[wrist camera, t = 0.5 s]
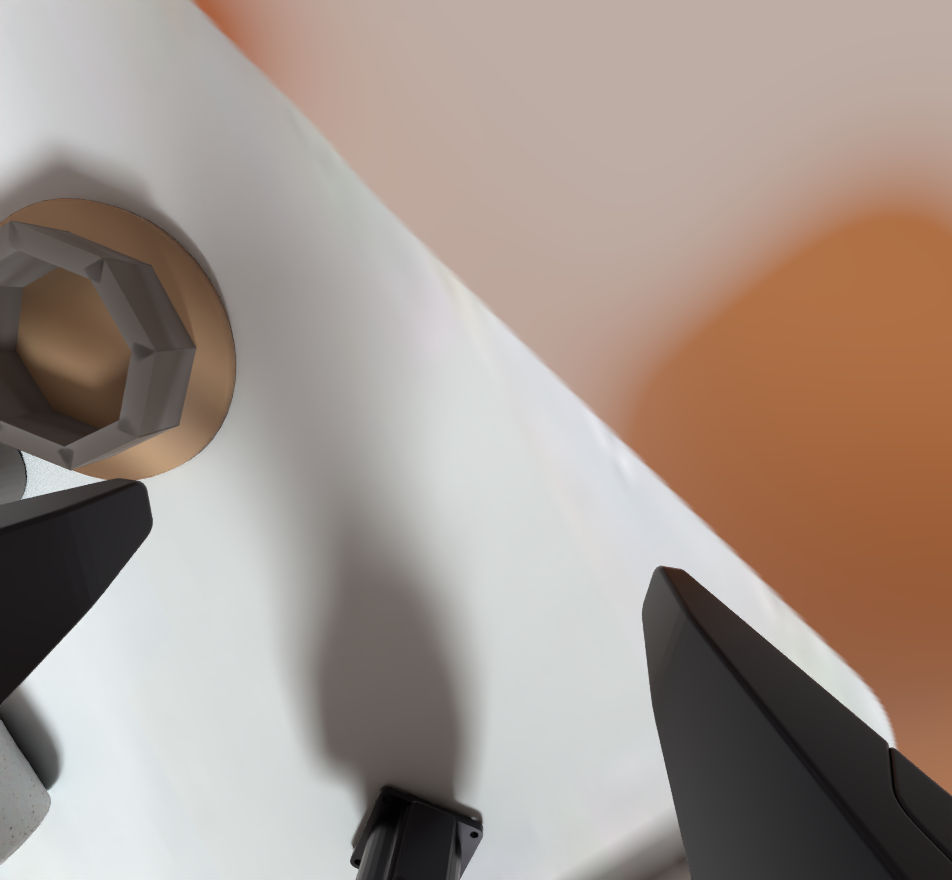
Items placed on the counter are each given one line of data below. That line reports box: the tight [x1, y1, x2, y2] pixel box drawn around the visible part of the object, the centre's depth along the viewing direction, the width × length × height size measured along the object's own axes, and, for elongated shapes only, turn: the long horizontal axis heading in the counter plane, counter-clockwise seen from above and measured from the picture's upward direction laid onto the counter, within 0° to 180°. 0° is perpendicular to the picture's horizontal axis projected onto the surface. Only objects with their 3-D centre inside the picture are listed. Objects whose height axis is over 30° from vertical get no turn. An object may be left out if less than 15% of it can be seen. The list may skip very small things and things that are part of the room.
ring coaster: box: [0, 198, 236, 480], centre depth 22 cm, size 13×13×3 cm
